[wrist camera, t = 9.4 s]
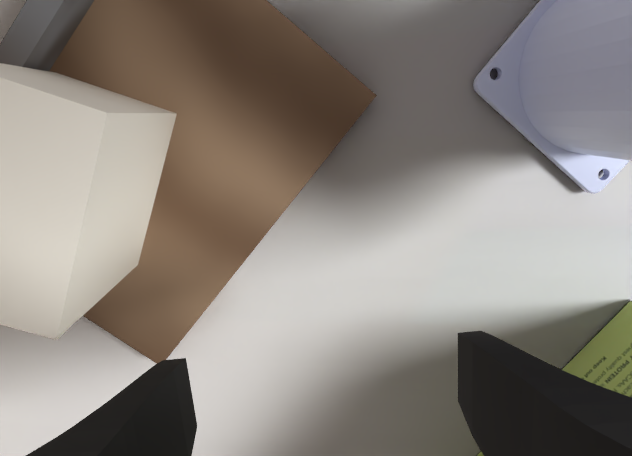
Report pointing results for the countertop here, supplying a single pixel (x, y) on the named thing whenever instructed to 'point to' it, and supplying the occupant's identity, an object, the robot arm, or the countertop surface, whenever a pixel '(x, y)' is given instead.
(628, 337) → the protein box
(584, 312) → the countertop surface
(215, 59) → the shelf
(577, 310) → the countertop surface
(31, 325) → the carton
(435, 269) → the countertop surface
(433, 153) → the countertop surface
